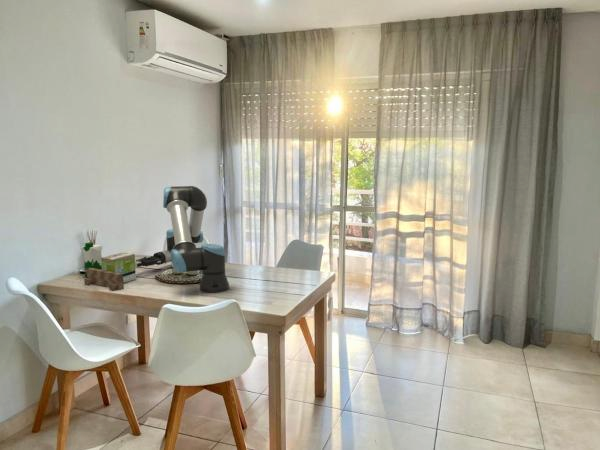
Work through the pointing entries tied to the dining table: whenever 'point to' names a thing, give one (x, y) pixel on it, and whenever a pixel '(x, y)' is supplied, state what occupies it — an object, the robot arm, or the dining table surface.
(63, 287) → the dining table surface
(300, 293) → the dining table surface
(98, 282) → the brown bumpy block
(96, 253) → the milk carton
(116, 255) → the tea box
